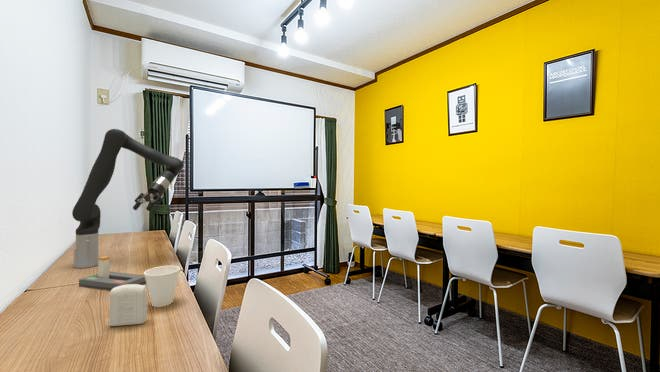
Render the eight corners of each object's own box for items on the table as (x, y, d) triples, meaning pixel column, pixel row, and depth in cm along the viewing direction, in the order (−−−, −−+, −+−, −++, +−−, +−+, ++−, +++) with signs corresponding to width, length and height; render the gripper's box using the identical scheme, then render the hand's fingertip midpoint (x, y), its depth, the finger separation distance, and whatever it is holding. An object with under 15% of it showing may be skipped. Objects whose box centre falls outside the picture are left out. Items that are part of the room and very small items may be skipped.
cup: (160, 312, 101) (160, 276, 100) (135, 307, 104) (135, 273, 104) (187, 299, 112) (187, 267, 112) (164, 295, 116) (164, 264, 115)
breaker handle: (98, 280, 128) (98, 257, 128) (104, 278, 130) (103, 256, 130) (103, 281, 127) (103, 258, 127) (109, 279, 130) (109, 256, 129)
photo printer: (149, 318, 96) (149, 281, 96) (144, 324, 92) (144, 285, 92) (114, 321, 94) (113, 283, 94) (107, 328, 90) (106, 288, 90)
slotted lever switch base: (79, 286, 125) (79, 278, 124) (106, 277, 136) (106, 270, 136) (123, 292, 118) (123, 284, 118) (148, 282, 130) (148, 275, 130)
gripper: (144, 181, 159) (125, 204, 148) (166, 182, 155) (147, 205, 144) (152, 191, 164) (134, 213, 153) (173, 191, 160) (156, 214, 149)
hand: (140, 209), depth 149 cm, fingers open, 8 cm apart
